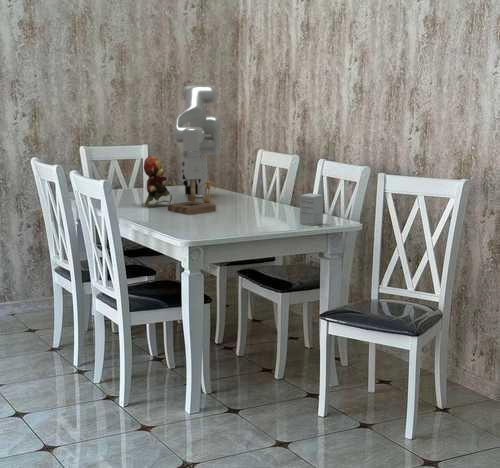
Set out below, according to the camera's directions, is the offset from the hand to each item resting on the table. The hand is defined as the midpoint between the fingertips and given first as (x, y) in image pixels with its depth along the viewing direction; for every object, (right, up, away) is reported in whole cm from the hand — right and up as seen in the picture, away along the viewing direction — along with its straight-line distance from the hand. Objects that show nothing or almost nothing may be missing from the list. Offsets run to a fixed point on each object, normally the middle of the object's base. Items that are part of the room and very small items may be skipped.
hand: (191, 193), depth 385 cm
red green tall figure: (-18, -5, +16) cm, 25 cm away
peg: (0, -3, +1) cm, 3 cm away
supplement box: (+54, -15, -30) cm, 64 cm away
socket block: (0, -8, +2) cm, 8 cm away
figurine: (+6, -3, +27) cm, 27 cm away
